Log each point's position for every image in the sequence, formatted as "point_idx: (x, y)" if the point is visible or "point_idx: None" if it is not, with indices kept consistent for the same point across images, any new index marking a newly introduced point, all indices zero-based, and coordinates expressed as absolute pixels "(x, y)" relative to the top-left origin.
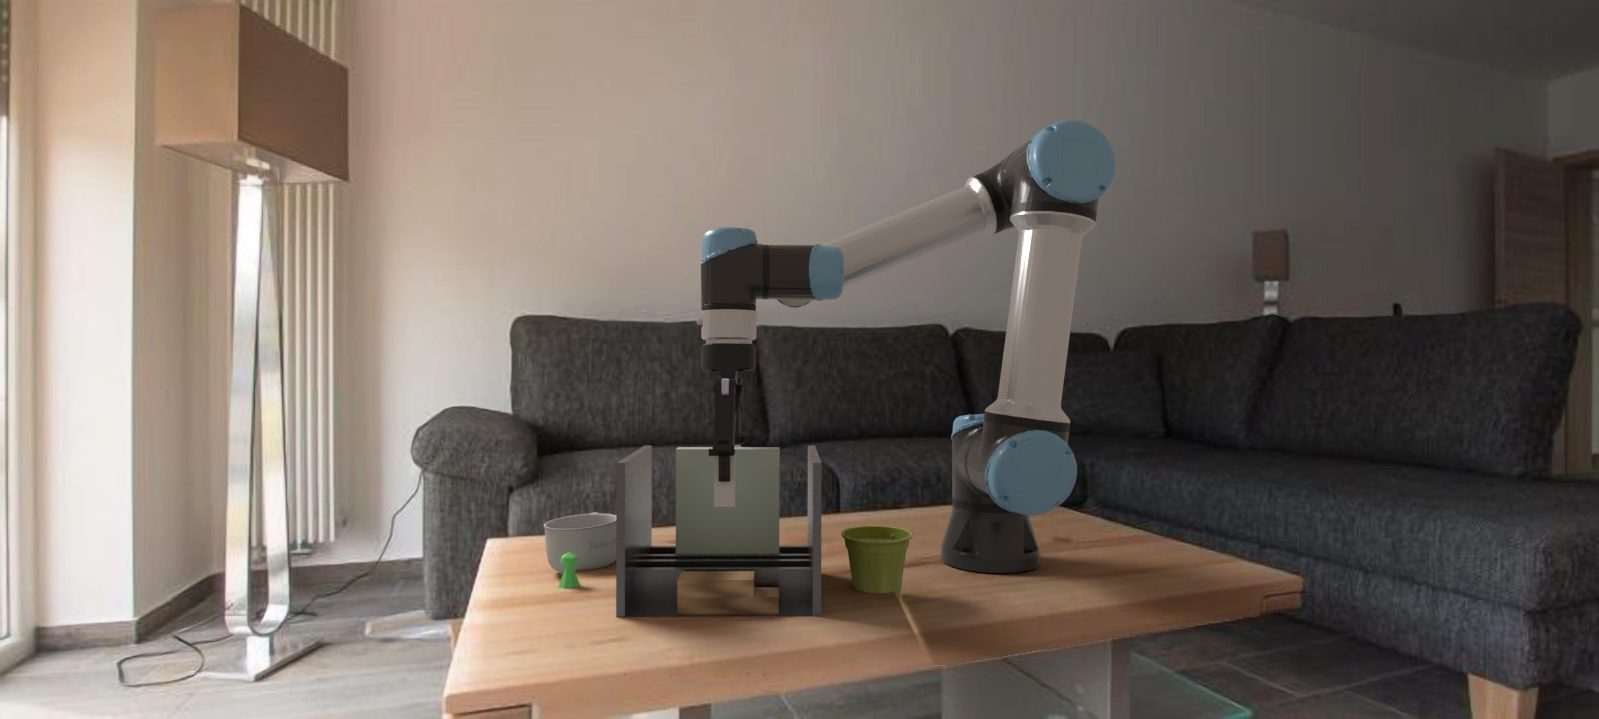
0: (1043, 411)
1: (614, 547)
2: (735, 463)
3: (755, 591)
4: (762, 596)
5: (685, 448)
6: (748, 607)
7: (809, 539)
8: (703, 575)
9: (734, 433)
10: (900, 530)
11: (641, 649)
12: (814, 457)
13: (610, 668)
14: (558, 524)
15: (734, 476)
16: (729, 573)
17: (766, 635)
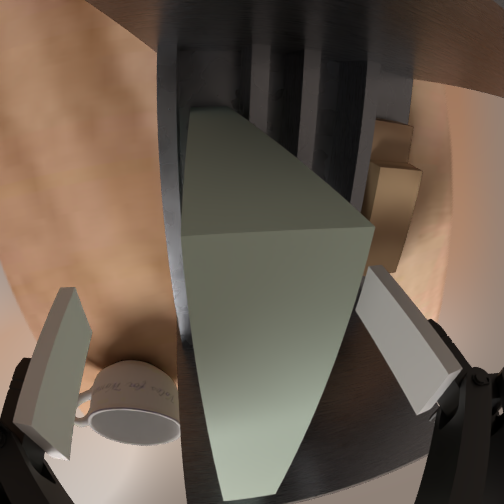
0: None
1: (138, 378)
2: (435, 352)
3: (386, 158)
4: (408, 149)
5: (258, 492)
6: None
7: (308, 43)
8: (384, 244)
9: (482, 441)
10: None
11: (413, 259)
12: None
13: (438, 271)
14: (124, 436)
15: (426, 321)
16: (384, 207)
17: (412, 137)
